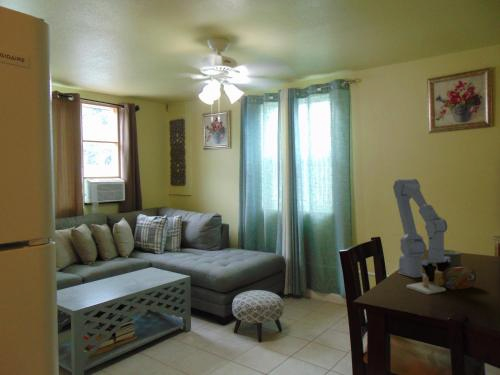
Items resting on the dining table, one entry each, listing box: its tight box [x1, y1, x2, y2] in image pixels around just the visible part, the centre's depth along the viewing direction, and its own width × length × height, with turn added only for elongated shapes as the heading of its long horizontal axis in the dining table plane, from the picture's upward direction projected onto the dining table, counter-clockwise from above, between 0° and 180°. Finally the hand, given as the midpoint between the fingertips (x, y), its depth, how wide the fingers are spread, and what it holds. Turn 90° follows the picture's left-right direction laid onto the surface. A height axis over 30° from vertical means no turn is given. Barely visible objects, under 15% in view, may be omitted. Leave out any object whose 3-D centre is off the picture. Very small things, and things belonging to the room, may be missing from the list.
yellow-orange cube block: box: [428, 269, 444, 287], centre depth 152 cm, size 5×5×5 cm
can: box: [434, 249, 462, 268], centre depth 183 cm, size 12×12×7 cm
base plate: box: [406, 276, 447, 295], centre depth 145 cm, size 10×10×5 cm
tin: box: [442, 265, 477, 291], centre depth 146 cm, size 15×3×8 cm, turn 105°
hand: (436, 280), depth 152 cm, fingers open, 6 cm apart
